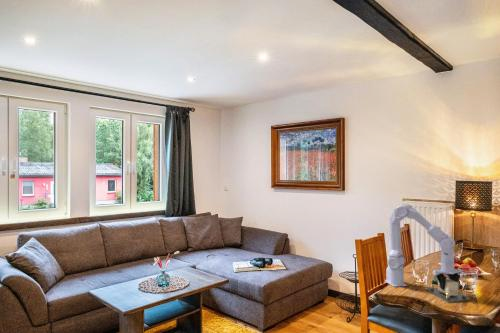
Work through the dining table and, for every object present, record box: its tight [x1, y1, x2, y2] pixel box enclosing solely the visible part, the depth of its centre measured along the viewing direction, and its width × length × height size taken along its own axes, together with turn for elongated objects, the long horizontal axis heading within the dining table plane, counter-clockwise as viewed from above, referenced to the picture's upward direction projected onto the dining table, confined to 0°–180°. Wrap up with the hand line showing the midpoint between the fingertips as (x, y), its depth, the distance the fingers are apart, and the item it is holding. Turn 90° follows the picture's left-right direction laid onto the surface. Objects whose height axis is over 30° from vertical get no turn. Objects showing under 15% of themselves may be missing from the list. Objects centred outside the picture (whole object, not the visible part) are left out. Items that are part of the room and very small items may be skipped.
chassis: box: [425, 283, 472, 303], centre depth 170 cm, size 16×12×4 cm
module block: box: [437, 277, 459, 296], centre depth 170 cm, size 8×5×6 cm, turn 7°
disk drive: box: [431, 275, 462, 290], centre depth 186 cm, size 10×3×15 cm
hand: (447, 288), depth 170 cm, fingers closed on module block, 5 cm apart
